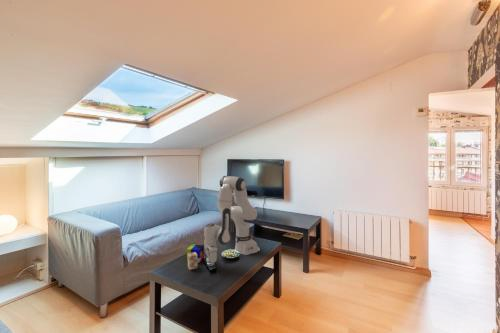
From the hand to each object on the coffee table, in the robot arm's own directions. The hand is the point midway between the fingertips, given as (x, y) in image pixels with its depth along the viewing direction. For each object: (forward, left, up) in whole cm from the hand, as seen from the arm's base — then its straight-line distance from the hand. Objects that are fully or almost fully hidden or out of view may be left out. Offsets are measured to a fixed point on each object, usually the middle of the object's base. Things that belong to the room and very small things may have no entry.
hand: (210, 263), depth 192 cm
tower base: (+13, -2, -2) cm, 13 cm away
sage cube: (0, 0, -2) cm, 2 cm away
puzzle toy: (+8, -15, -2) cm, 17 cm away
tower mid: (+13, -2, +3) cm, 14 cm away
